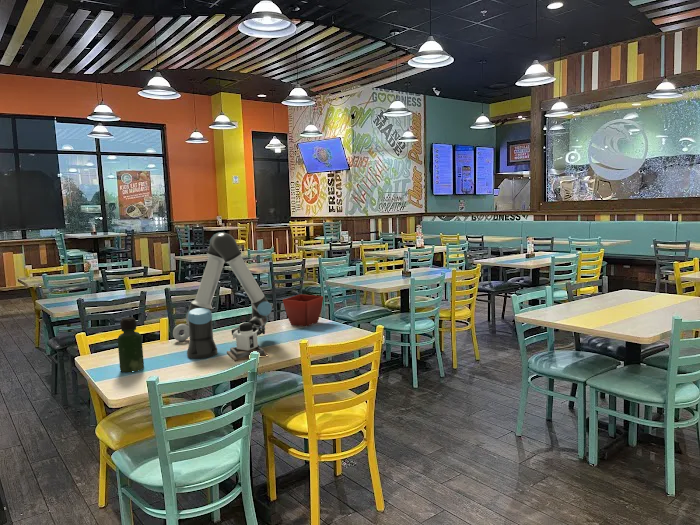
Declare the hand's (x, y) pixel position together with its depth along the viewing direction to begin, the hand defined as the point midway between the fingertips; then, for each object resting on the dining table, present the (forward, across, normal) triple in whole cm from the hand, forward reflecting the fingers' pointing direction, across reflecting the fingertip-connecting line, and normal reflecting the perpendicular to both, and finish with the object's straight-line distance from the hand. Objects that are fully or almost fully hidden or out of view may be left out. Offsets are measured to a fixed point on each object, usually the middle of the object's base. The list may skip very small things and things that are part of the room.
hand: (244, 335), depth 255 cm
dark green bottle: (+18, +50, -11) cm, 54 cm away
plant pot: (-71, -19, -12) cm, 74 cm away
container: (-4, 0, -8) cm, 9 cm away
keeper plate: (-4, 0, -11) cm, 12 cm away
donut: (-33, +46, -11) cm, 58 cm away
